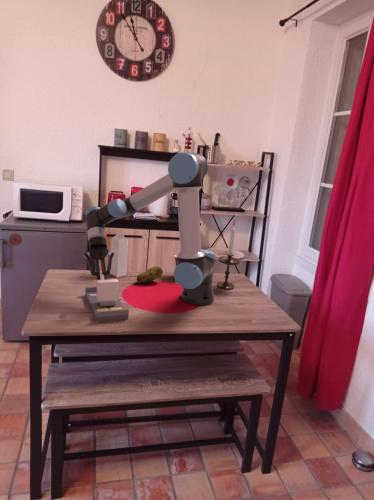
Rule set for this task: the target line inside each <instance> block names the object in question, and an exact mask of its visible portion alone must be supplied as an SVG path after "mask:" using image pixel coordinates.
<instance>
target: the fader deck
mask: <svg viewBox="0 0 374 500" xmlns="http://www.w3.org/2000/svg"><path fill="white" fill-rule="evenodd" d="M84 290H85V291H84V292H85V293H84V296H85V298H86V301H87V302H88V304H89V305H88V306H89V307H90V309H91V312H92V315H93V317H94V319H95V321H96V323H100V322H101V323H102V322H111V321H113V322H114V321H120V320H121V321H122V320H123V321H124V320H129V312H130V311H129V310H130V309H129V308H128V307H127V308H125V306H124V305H123V303H122V302H121V299H119V297H118V300H117V301H116V305H111V306H100V304H99V302H98V301H97V299H96V295H97V285H94V286H93V285H92V286H85V289H84Z"/></svg>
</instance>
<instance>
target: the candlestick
mask: <svg viewBox="0 0 374 500" xmlns="http://www.w3.org/2000/svg"><path fill="white" fill-rule="evenodd" d="M232 224H233V226H232V227H231V230H230V239H229V245H228V251H227V253H226V254H225V255H226V256H219V257H218V258H217V261H218V262H219V263H221V264H224V265H226V270H225V271H224V274H225V276H224V277H223V278H224V281H219V282H216V287H217V288H219V289H220V290H225V291H226V290H228V291H231V290H234V289H235V284H233V283H232V282H228V281H229V278H230V276H229V275H230V274H231V272H230V267H231V266H236V265H237V266H238V265H239V264H240V263H241V260H240V259H238V258H236V257H233V256H235V255H234V254H233V247H234V241H235V233H236V227H235V225H236V220H235V219H234V221H233V223H232Z"/></svg>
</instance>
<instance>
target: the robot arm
mask: <svg viewBox="0 0 374 500" xmlns="http://www.w3.org/2000/svg"><path fill="white" fill-rule="evenodd" d="M208 169H209V165H208V162H207V160H206V158H205V157H204V156H203V155H202V154H201V153H197V152H191V151H184V152H183V151H181V152H179V153H176V154H175V155H173V156H172V157H171V158H170V160H169V162H168V166H167V174H166V175H164V176H162V177H160V178H159V179H157V180H155V181H154V182H152V183H150V184H149V185H147V186H145V187H143V188H141V189H140V190H138V191H137V192H135V193H133V194H131V195H130V196H129V197H127V198H124V199H123V200H122V199H120V198H115V199H113V200H111V201H110V202H108V203H107V204H105V205H102V206H101V207H99V206H90V207H88V208H87V209H86V210H85V223H86V230H87V240H88V252H84V253H83V259H84V260H85V261H86V263H87V265H88V266H87V267H88V269H89V271H90V274H91V276H95V278H96V281H97V280H108V278H107V276H110V275H111V274H110V271H111V264H112V258H113V256H114V253H111V251H110V250H109V249H108V243H107V235H106V229H105V228H106V227H105V226H106V225H109V224H110V223H112V222H114V221H115V220H118V219H122V218H126V217H131V216H133V215H135V214H137V212H138V211H141V210H142V209H143V208H145V207H147V206H149V205H151V204H152V203H155V202H156V201H158V200H160V199H161V198H164V197H165V196H167V195H170V193H172V192H174V191H175V192H176V194H177V195H176V197H177V213H178V233H179V236H178V237H179V250H180V251H179V252H178V253H177V266H176V265H175V268H174V270H173V277H174V280H175V282H176V283H177V284H178V285H179V287H181V288H183V289H182V290H181V295H180V298H181V299H182V300H183V301H184V302H186V303H188V304H193V305H199V306H200V305H201V306H202V305H203V306H206V305H210V304H212V303H214V301H215V292H214V287H213V279H214V273H215V264H216V260H217V259H216V253H215V252H214V251H212V250H207V249H202V241H201V239H202V237H201V218H200V217H201V215H200V190H201V189H202V188H203V179H204V178H205V176H207V174H208V171H209V170H208ZM106 257H108V261H107V267H106V260H105V258H106ZM91 258H92V259H93V261H94V265H93V262H92V259H91ZM99 260H100V261H99ZM100 266H101V269H100ZM100 270H101V272H100Z"/></svg>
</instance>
